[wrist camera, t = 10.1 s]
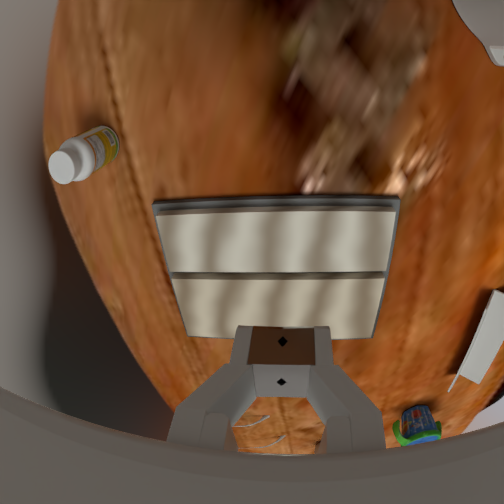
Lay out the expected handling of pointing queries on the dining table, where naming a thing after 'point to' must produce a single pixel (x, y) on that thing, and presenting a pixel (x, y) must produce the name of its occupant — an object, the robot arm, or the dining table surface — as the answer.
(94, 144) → the supplement bottle
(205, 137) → the dining table surface
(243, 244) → the floor panel
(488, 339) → the z bracket
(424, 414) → the snack cup
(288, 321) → the loose plank
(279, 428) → the dining table surface
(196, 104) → the dining table surface
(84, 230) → the dining table surface
